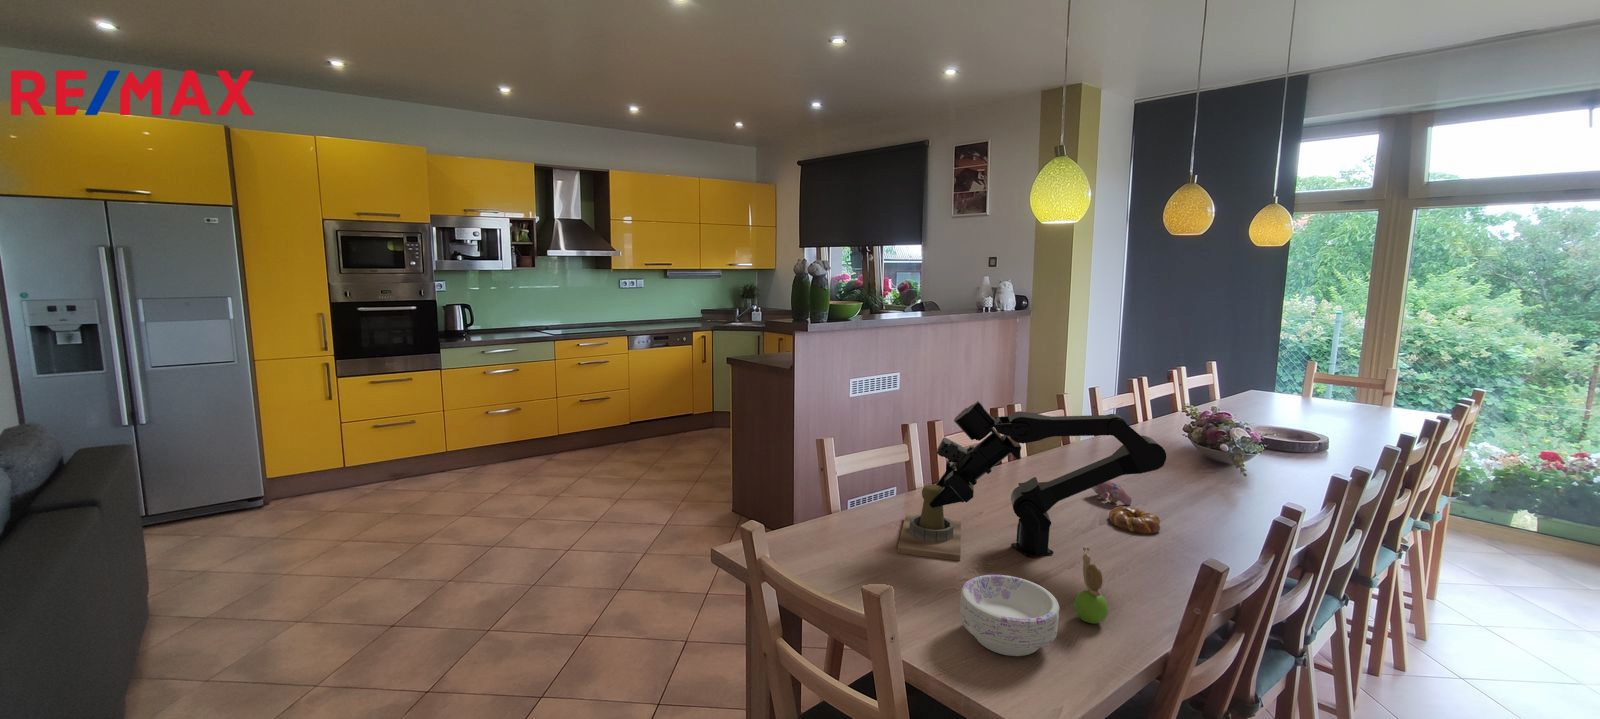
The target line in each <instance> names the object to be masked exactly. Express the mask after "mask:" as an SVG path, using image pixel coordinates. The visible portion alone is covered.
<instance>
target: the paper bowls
mask: <svg viewBox="0 0 1600 719" xmlns="http://www.w3.org/2000/svg"><path fill="white" fill-rule="evenodd" d="M960 590H961V591H960V605H959V606H960V608H959V610H960V611H959V620H960V622H961V623H962V626H963V627H964V628H965V630H967V631H968V632H969V633H970V634H971V635H972V636H974V638H975V639H976V640H977V642H978V643H979V644H980V645H981V646H983V647H985V648H986V649H988V650H990V651H992V652H994V653H997V654H999V655H1003V656H1010V657H1023V656H1028V655H1032V654H1034V653H1035V652H1037V651H1038V649H1040V648H1043V647H1045V646H1047V645H1049V644H1051V643H1052V642H1054V640H1055V639H1056V638H1057V634H1058V625H1059V615H1060V604H1059V602H1058V600H1057V598H1056V597H1055V596H1054V595H1053V594H1052V593H1051V592H1050V591H1049V590H1047V589H1046V588H1045V587H1043V586H1041V585H1039V584H1037V583H1035V582H1033V581H1030V580H1028V579H1025V578H1020V577H1018V576H1017V577H1016V576H1012V575H1006V574H1005V575H1003V574H985V575H979V576H976V577H972V578H970V579H968V580H967V581H966V582H964V584H963V585H962V588H961V589H960Z"/></svg>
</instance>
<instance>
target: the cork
mask: <svg viewBox="0 0 1600 719" xmlns="http://www.w3.org/2000/svg"><path fill="white" fill-rule="evenodd" d="M942 489H943V487H941V486H939V485H936V484H932V483H931V484H926V485H925V486H923V487H922V491H921V496H922V499H923V504H922V507H921V514H920V515H921V518H920V523H919V527H922V528H925V529H932V530H940V529H945V526H944V518H945V517H944V516H945V515H944V505H943V506H939V507H935V508H932V507H931V506H930V505H929V504H930V502H931V501H932V500H933V499H934V498H935V496H936V495H937V494H938V493H939V492H940V491H941V490H942Z"/></svg>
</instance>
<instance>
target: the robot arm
mask: <svg viewBox="0 0 1600 719" xmlns="http://www.w3.org/2000/svg"><path fill="white" fill-rule="evenodd" d="M953 422H954V423H955V424H956V425H957V426H958V427H959V429H961V430H962V431H963V433H964V434H965V435H966V436H967V437H968V438H969V439H970V440H971V441H973V440H975V441H980V442H979V443H978V444H977V445H976V446H975V445H972V446H971V445H970V446H969V447H967V448H965V447H963V446H962V445H960V444H959V443H957V442H955V441H953V440H951V439H949V438H948V437H943V438H942V440H941V441H940V442H939V445H938V447H937V449H936V454H937V455H938V456H940V457H943V458H945V459H947V460H946V462H945V463H946V464H945V471H944V473H943V474H942V475H941V477H940V478H939V480H938V481H937V482H936V483H935V485H939V486H941V487H943V489H942V490H941V491H940V492H939V493H938V494H937V495H936V496H935V498H934V499H933V500H932V501H931V502H930V504H929V505H930V506H931V507H932V508H935V507H939V506H943V507H944V506H947V505H952V504H957V503H968V502H969V501H971V500H972V499H973V498H974V486H975V485H977V483H978V480H979V479H981V477H983V476H984V475H986V474H987V475H989V474H990V473H992V469H993V468H994V467H995V466H996V465H997V464H999V463H1000V462H1002V461H1003V460H1004V459H1005V458H1006V457H1007V456H1009V455H1011V454H1012V456H1013V457H1014V458H1015V459H1016V460H1018V461H1019V460H1020V459H1021V450H1022V446H1021V444H1028V443H1029V444H1030V443H1034V442H1039V441H1042V440H1045V439H1048V438H1054V437H1086V436H1087V437H1088V436H1089V437H1092V436H1095V437H1096V436H1097V437H1098V436H1100V437H1101V436H1113V437H1114V438H1115V439H1116V440H1118V441H1119V442H1120V443H1121V444H1122V445H1121V446H1120V447H1119V448H1118V449H1116V450H1115V452H1113V453H1112V454H1111V455H1109V456H1107V457H1105V458H1102V459H1100V460H1097V461H1095V462H1092V463H1089V464H1087V465H1085V466H1083V467H1081V468H1078V469H1075V470H1073V471H1071V472H1068V473H1066V474H1064V475H1061V476H1058V477H1056V478H1054V479H1052V480H1049V481H1040V482H1039V481H1038V477H1036V476H1033V477H1032V478H1030V479H1028V480H1027V481H1025V482H1018V484H1017V485H1018V486H1016V487H1014V489H1013V490H1012V492H1011V495H1010V501H1011V506H1012V509H1013V513H1014V514H1015V515H1016V516H1017V517H1018V524H1017V528H1016V540H1015V541H1016V542H1011V543H1010V546H1011V547H1012V548H1013V549H1015V550H1017V551H1018V552H1020V553H1021V554H1024V555H1025V556H1027V557H1029V558H1036V557H1040V556H1041V557H1043V556H1050V555H1054V551H1053V550H1052V549H1050V548H1049V541H1050V540H1049V538H1050V531H1051V530H1050V529H1051V525H1052V521H1051V519H1050V515H1049V511H1050V510H1051V509H1052V508H1053V507H1054V506H1055V505H1056V504H1057V503H1058V502H1060V501H1063V500H1065V499H1068V498H1070V497H1072V496H1073V497H1074V496H1075V495H1078V494H1080V493H1082V492H1085V491H1087V490H1090V489H1092V487H1095V486H1097V485H1100V484H1102V483H1104V482H1107V481H1112V480H1114V479H1116V478H1119V477H1121V476H1126V475H1127V476H1128V475H1139V474H1145V473H1151V472H1153V471H1157V470H1159V469H1161V468H1163V467H1164V466H1165V464H1166V460H1167V453H1166V450H1165V449H1164V447H1163V446H1162V445H1161V444H1159V442H1157V441H1156V440H1154V439H1153V438H1152V437H1149V436H1147V435H1140V433H1138V432H1137V431H1136V430H1135V429H1134V428H1132V427H1131V426H1130V425H1129V424H1127V422H1126V421H1125V419H1124V418H1122V417H1121V416H1120V415H1119V414H1117V413H1109V414H1102V415H1101V414H1098V415H1094V414H1093V415H1063V416H1061V415H1059V416H1058V415H1057V416H1049V415H1043V414H1039V413H1037V412H1035V413H1034V412H1027V411H1021V410H1020V411H1015V412H1012V413H1011V414H1010V415H1005V416H1003V415H1001V416H992V415H991V414H990V413H989V412H988V411H987V410H986V409H985V407H984V405H982V403H981V402H980V401H979V400H977V401H976V402H975V403H973V404H971V405H970V406H968V407H965V408H963V409H962V411H961V412H960V413H959V414H957V415H956V416H955V418H954V420H953ZM981 440H982V441H981ZM1013 441H1014V442H1016V443H1017V444H1015V443H1014V442H1013Z"/></svg>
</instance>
